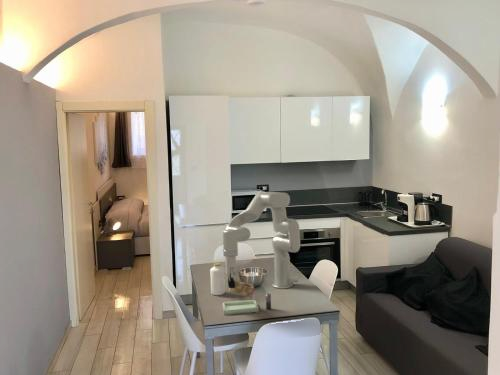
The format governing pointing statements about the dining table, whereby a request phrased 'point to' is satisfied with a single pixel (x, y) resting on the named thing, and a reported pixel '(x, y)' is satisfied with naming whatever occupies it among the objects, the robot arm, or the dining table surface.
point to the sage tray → (240, 307)
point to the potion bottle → (217, 279)
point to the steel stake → (268, 301)
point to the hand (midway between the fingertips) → (231, 286)
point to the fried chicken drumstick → (243, 289)
